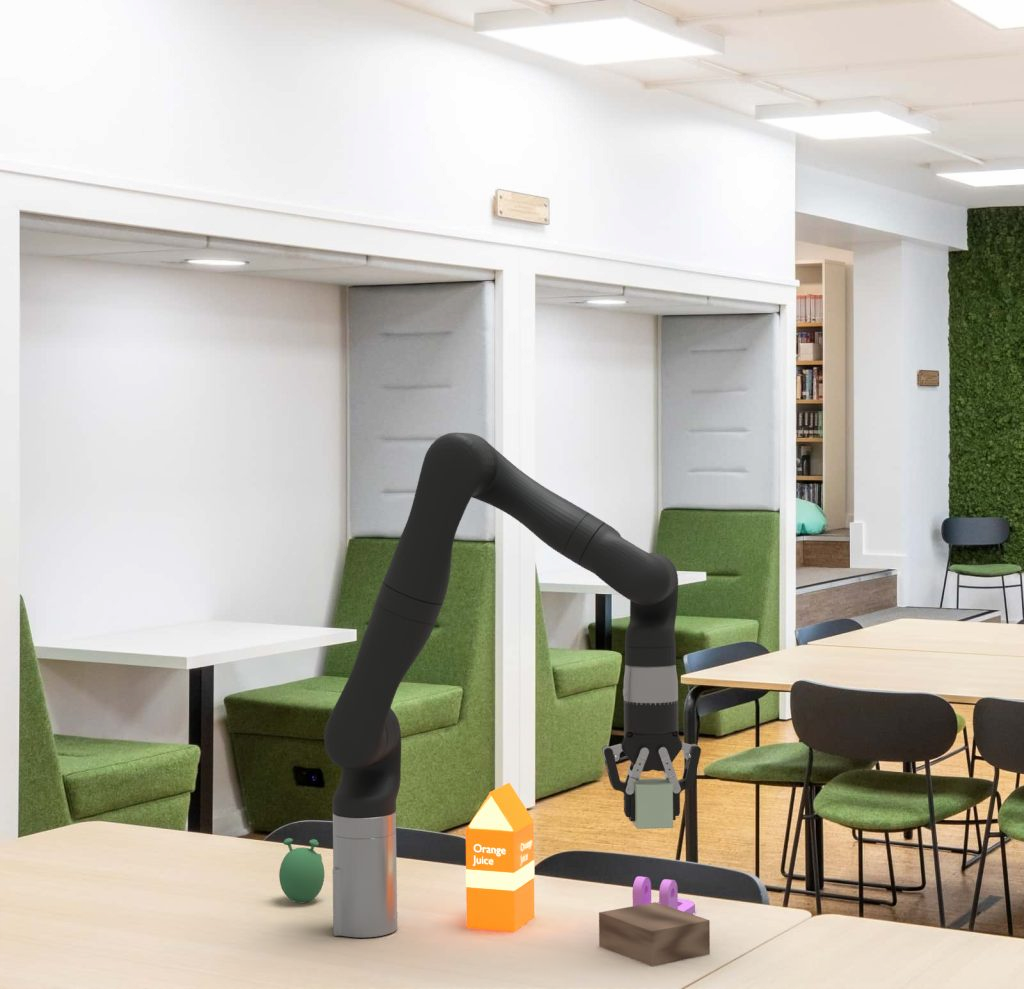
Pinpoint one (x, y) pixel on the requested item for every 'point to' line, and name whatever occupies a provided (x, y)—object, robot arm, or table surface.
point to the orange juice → (500, 863)
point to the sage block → (653, 804)
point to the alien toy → (301, 872)
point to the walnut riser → (654, 933)
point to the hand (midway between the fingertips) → (652, 819)
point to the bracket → (661, 895)
